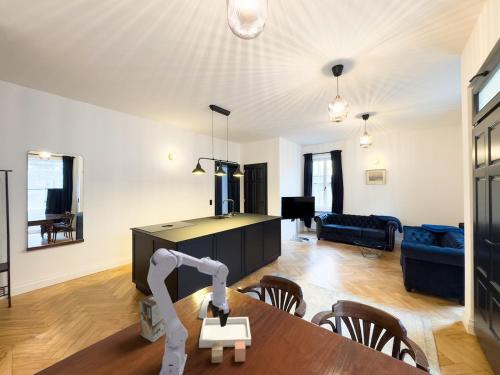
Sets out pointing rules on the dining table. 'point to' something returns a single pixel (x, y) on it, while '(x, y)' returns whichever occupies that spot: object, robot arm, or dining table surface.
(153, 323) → the coffee box
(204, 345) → the tray
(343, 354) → the dining table surface
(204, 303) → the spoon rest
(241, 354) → the terracotta block
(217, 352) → the maple block
